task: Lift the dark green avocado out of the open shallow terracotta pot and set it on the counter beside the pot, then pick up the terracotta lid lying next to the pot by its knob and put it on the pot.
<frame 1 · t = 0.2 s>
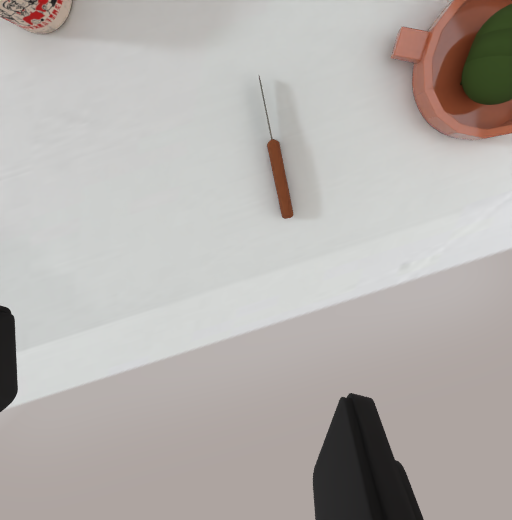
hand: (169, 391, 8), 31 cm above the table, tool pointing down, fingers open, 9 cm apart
pot: (482, 67, 31), on the table
avocado: (485, 66, 31), resting on pot
kitchen knife: (274, 150, 36), on the table
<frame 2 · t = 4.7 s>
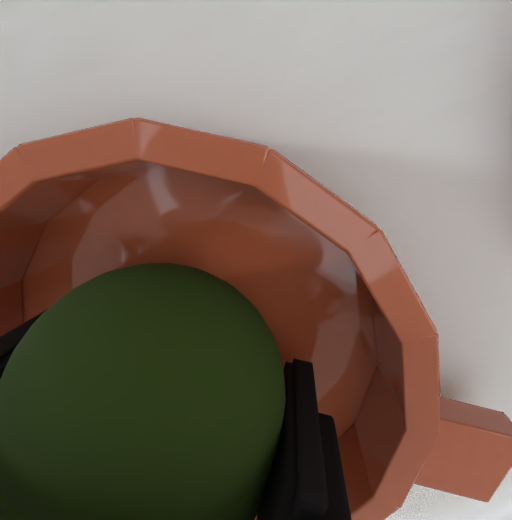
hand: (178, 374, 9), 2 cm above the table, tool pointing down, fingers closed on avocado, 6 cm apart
pot: (195, 343, 11), on the table
avocado: (191, 351, 10), point 1 cm above the table, touching gripper, pot
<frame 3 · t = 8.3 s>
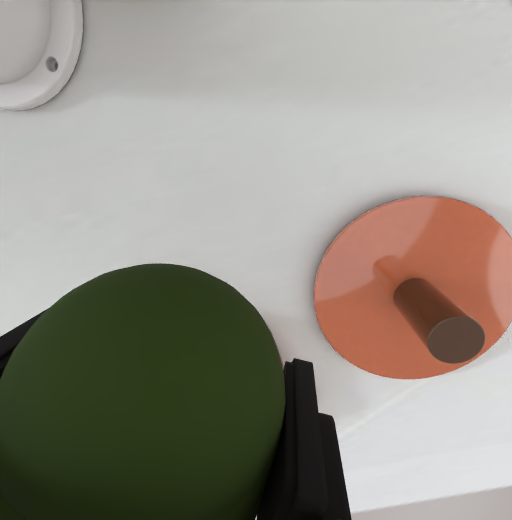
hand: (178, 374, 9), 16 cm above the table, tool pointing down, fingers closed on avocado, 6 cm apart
lid: (411, 293, 23), point 1 cm above the table
avocado: (190, 352, 10), point 14 cm above the table, touching gripper
when the fingers open (1 cm above the table, at t = 11.8 s): avocado stays where it is, on the table.
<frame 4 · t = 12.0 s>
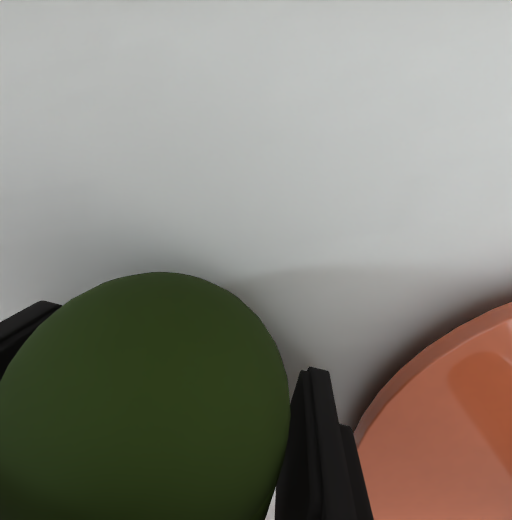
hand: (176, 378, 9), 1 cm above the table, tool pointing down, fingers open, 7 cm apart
avocado: (191, 360, 10), on the table
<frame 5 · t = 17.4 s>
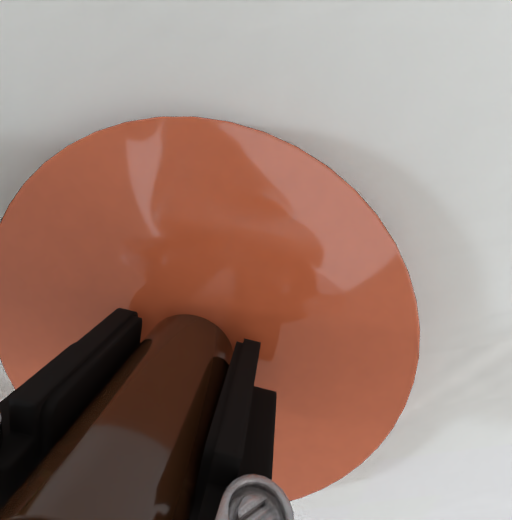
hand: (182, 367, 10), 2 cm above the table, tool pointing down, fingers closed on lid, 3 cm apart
lid: (195, 343, 11), point 1 cm above the table, touching gripper
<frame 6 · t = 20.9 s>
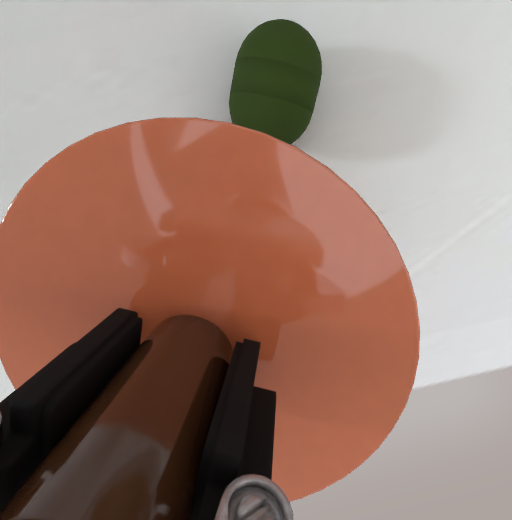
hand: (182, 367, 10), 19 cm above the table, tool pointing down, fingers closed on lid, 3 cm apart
lid: (195, 344, 11), point 18 cm above the table, touching gripper
avocado: (276, 98, 24), on the table
when the fingers open (4 cm above the table, at t = 24.6 s): lid stays where it is, resting on pot.
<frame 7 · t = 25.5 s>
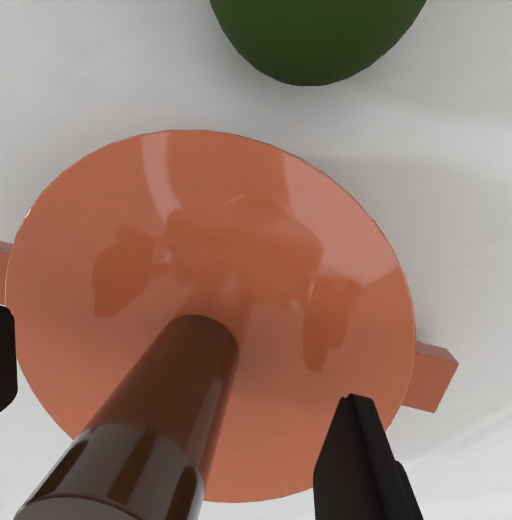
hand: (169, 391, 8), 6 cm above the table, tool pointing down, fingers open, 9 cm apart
lid: (202, 343, 11), point 3 cm above the table, touching pot
pot: (219, 304, 14), on the table
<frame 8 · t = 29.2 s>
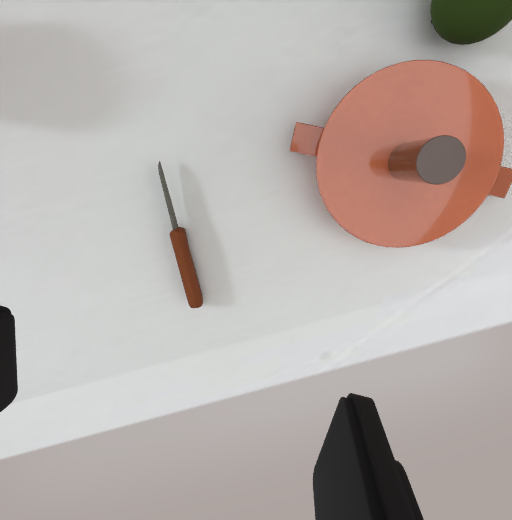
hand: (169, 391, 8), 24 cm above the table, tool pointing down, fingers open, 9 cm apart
lid: (403, 161, 26), point 3 cm above the table, touching pot
pot: (392, 160, 28), on the table
kitchen knife: (183, 236, 33), on the table
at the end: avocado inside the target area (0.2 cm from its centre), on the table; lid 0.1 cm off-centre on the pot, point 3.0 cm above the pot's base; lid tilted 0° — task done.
